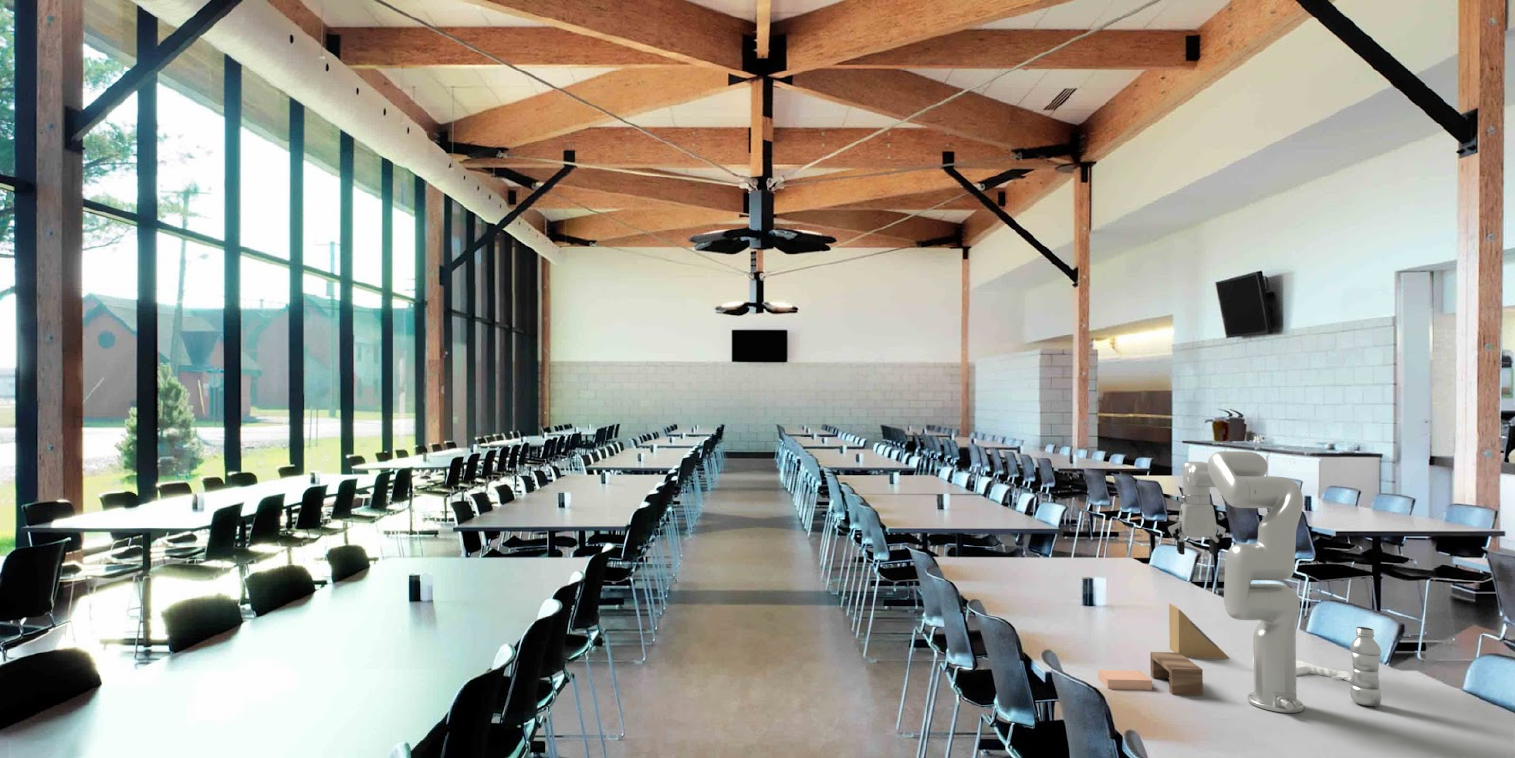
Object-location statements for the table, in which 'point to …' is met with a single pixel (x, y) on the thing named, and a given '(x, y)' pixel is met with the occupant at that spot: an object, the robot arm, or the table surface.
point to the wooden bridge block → (1177, 673)
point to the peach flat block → (1124, 679)
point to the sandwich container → (1190, 637)
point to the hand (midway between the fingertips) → (1197, 554)
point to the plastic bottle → (1365, 668)
